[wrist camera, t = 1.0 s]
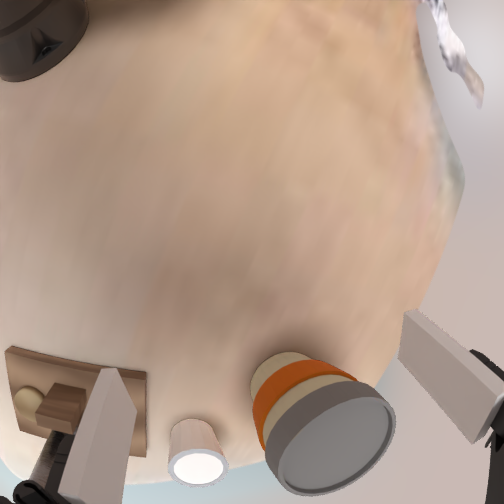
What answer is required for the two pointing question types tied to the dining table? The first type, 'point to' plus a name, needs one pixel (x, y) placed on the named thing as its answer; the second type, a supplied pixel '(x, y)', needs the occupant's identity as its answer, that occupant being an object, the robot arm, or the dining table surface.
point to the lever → (48, 457)
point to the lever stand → (65, 394)
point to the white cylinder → (195, 454)
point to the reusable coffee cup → (318, 423)
